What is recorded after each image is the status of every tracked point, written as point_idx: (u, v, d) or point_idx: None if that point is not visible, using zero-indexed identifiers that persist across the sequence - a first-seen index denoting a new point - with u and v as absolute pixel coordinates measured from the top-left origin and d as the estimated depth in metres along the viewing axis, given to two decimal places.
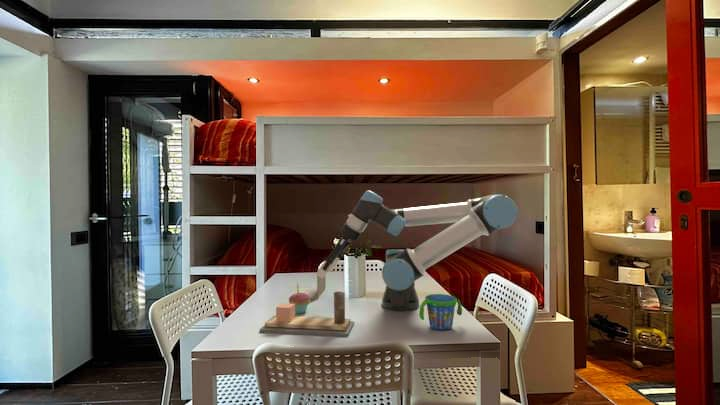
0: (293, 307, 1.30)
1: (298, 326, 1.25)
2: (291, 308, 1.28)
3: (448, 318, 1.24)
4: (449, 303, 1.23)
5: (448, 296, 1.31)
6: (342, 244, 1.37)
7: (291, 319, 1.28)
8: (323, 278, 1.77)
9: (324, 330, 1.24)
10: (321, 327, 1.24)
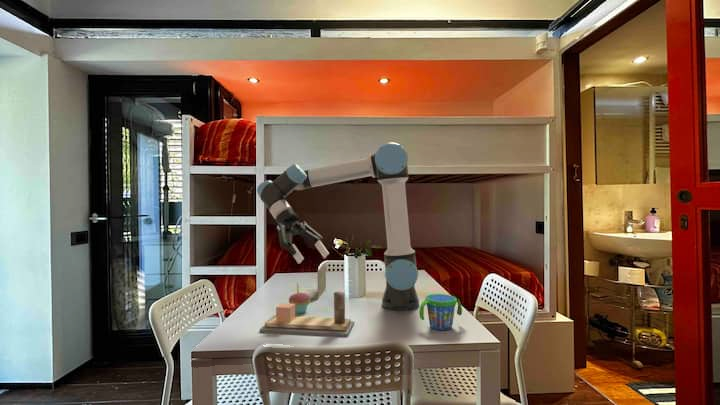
0: (293, 307, 1.30)
1: (298, 326, 1.25)
2: (291, 308, 1.28)
3: (448, 318, 1.24)
4: (449, 303, 1.23)
5: (448, 296, 1.31)
6: (279, 227, 1.32)
7: (291, 319, 1.28)
8: (323, 278, 1.77)
9: (324, 330, 1.24)
10: (321, 327, 1.24)
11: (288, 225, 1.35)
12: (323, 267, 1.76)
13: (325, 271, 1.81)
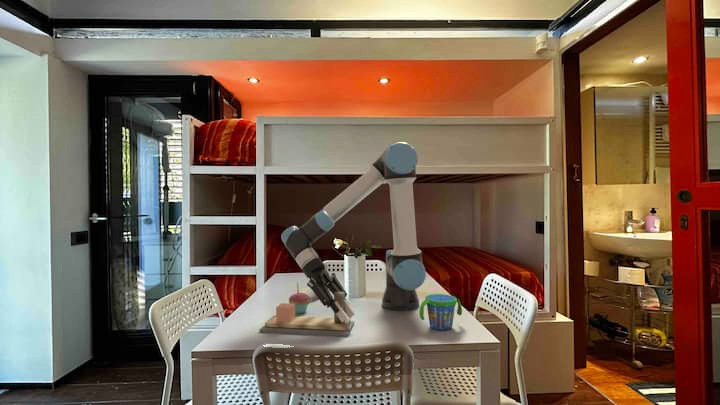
0: (293, 307, 1.30)
1: (298, 326, 1.25)
2: (291, 308, 1.28)
3: (448, 318, 1.24)
4: (449, 303, 1.23)
5: (448, 296, 1.31)
6: (312, 284, 1.25)
7: (291, 319, 1.28)
8: None
9: (324, 330, 1.24)
10: (321, 327, 1.24)
11: (316, 276, 1.28)
12: None
13: None
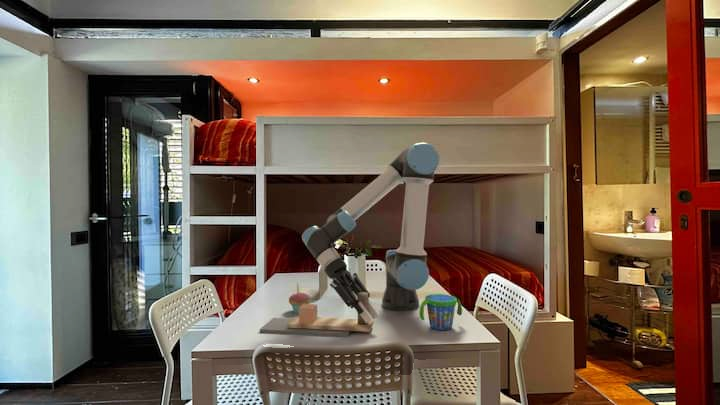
0: (315, 308, 1.29)
1: (321, 327, 1.24)
2: (314, 309, 1.27)
3: (448, 318, 1.24)
4: (449, 303, 1.23)
5: (448, 296, 1.31)
6: (336, 284, 1.24)
7: (314, 320, 1.27)
8: (325, 278, 1.77)
9: (324, 330, 1.24)
10: (345, 328, 1.22)
11: (339, 276, 1.27)
12: None
13: None
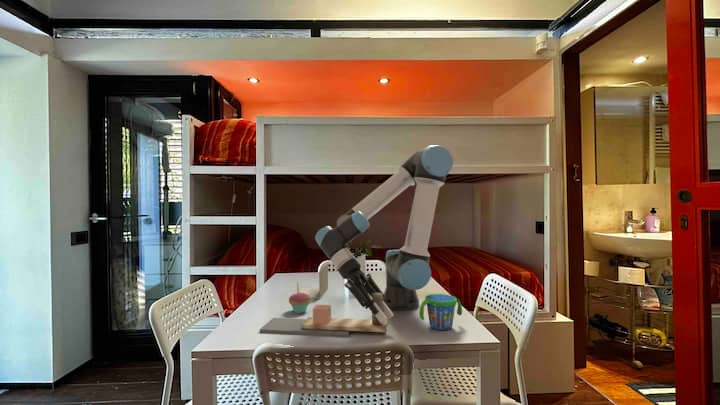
0: (329, 308, 1.28)
1: (336, 328, 1.23)
2: (328, 309, 1.26)
3: (448, 318, 1.24)
4: (449, 303, 1.23)
5: (448, 296, 1.31)
6: (350, 285, 1.23)
7: (328, 321, 1.26)
8: (325, 278, 1.77)
9: (324, 330, 1.24)
10: (360, 329, 1.22)
11: (353, 277, 1.26)
12: (325, 267, 1.76)
13: (327, 271, 1.81)
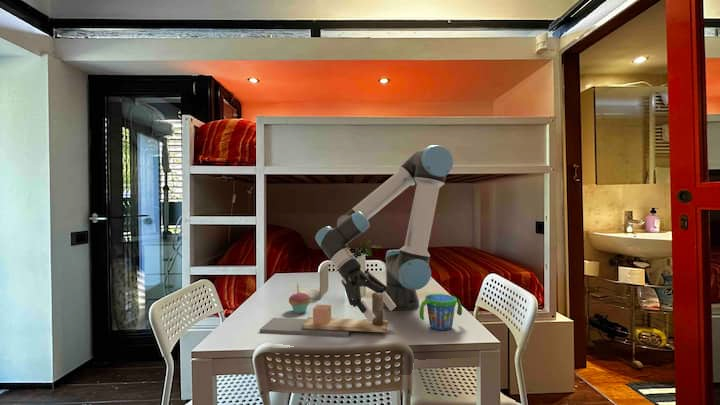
0: (329, 308, 1.28)
1: (336, 328, 1.23)
2: (328, 309, 1.26)
3: (448, 318, 1.24)
4: (449, 303, 1.23)
5: (448, 296, 1.31)
6: (346, 281, 1.23)
7: (328, 321, 1.26)
8: (326, 278, 1.77)
9: (324, 330, 1.24)
10: (360, 329, 1.22)
11: (353, 277, 1.26)
12: (325, 267, 1.76)
13: None
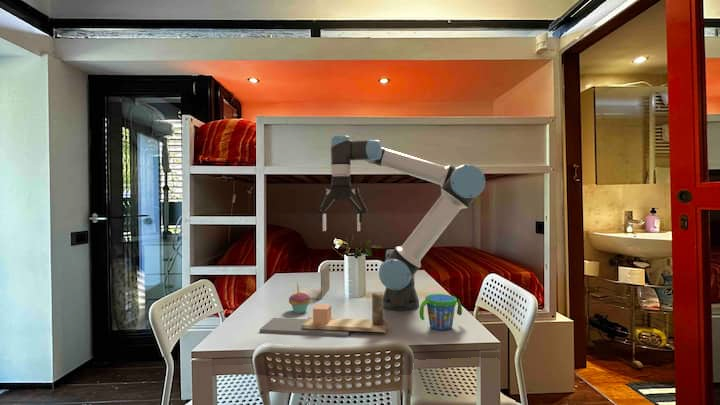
0: (329, 308, 1.28)
1: (336, 328, 1.23)
2: (328, 309, 1.26)
3: (448, 318, 1.24)
4: (449, 303, 1.23)
5: (448, 296, 1.31)
6: None
7: (328, 321, 1.26)
8: (327, 278, 1.77)
9: (324, 330, 1.24)
10: (360, 329, 1.22)
11: (333, 192, 1.45)
12: (327, 267, 1.76)
13: None
